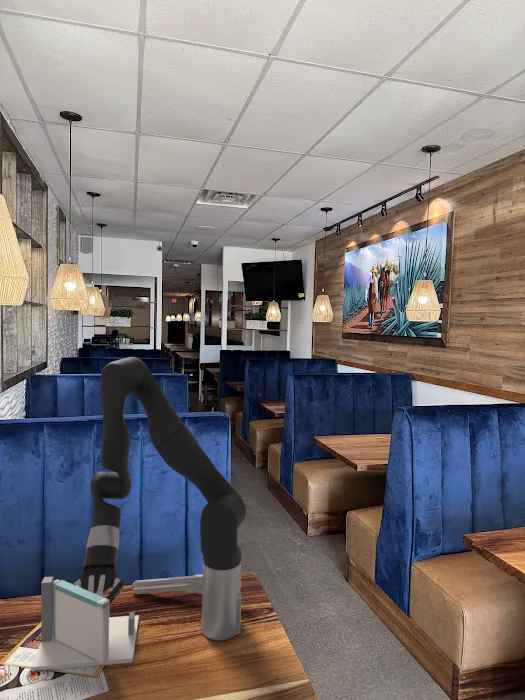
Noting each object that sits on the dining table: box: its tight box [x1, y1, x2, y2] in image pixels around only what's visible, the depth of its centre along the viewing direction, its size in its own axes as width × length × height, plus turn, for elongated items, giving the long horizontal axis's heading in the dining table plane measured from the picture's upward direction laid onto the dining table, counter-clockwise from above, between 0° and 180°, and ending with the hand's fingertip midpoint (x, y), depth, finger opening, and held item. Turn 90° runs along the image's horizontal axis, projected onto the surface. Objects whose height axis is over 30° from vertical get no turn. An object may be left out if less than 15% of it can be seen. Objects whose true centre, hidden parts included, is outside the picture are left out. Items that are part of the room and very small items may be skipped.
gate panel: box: [53, 579, 110, 664], centre depth 105 cm, size 16×2×13 cm, turn 62°
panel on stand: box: [29, 576, 140, 672], centre depth 108 cm, size 21×15×15 cm
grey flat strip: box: [132, 573, 242, 595], centre depth 127 cm, size 2×30×8 cm, turn 83°
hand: (91, 628), depth 106 cm, fingers closed
